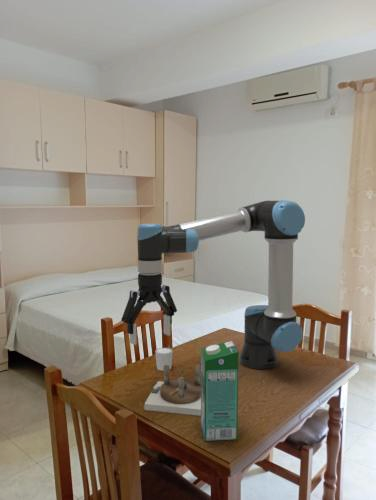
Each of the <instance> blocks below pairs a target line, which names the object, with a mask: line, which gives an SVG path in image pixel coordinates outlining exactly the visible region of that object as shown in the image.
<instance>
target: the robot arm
mask: <svg viewBox="0 0 376 500" xmlns="http://www.w3.org/2000/svg"><path fill="white" fill-rule="evenodd" d="M305 223H306V216H305V213H304V210H303V209H302V207H301V206H300V205H299V204H298V203H296V202H295V201H292V200H287V199H286V200H284V199H283V200H263V201H260V202H256V203H253V204H250V205H249V204H248V205H246V206H242V207H239V208H238V209H237V210H236V211H232V212H228V213H224V214H223V213H222V214H218V215H213V216H210V217H206V218H205V217H204V218H200V219H196V220H190V221H187V222H183V223H177V224H174V225H169V226H165V225H164V226H162V224H160V223H141V224H139V225H138V227H137V238H136V240H137V272H138V274H137V284H138V290H130V291H129V297H128V300H127V303H126V306H125V308H124V311H123V313H122V317H121V320H120V321H121V322H122V323H125V324H126V326H127V329H126V330H127V334H129V343H130V344H131V345H134V346H135V345H136V346H137V323H135V322H136V320H137V319H138V316H139V315H140V314H141V312H142V309H143V308H144V307H145V306H146V305H147V304H150V303H157V304H158V306H159V307H160V308H161V309H162V310H163V312H164V313H165V314H163V334H164V335H166V336H171V325H172V324H173V319H172V318H173V316H175V313H177V311H178V309H177V306H176V304H175V302H174V300H173V296H172V295H171V290H170V286H169V285H165V284H163V274H162V272H163V257H162V256H163V255H166V254H181V253H182V254H188V253H194V252H196V251H197V250H198V248H199V243H200V241H204V240H205V241H206V240H208V239H213V238H217V237H221V236H225V235H228V234H229V235H230V234H233V233H238V232H243V233H248V232H249V233H250V232H264V240H265V241H266V242H267V243H268V282H267V284H268V285H267V286H268V290H267V291H268V292H267V293H268V295H267V296H268V297H267V302H268V305H267V304H258V305H250V306H247V307H246V308H245V310H244V339H243V340H244V342H243V345H242V347H241V351H240V352H239V363H240V364H241V365H242V366H243V367H247V368H250V369H253V370H255V369H256V370H269V369H272V368H276V367H277V365H278V362H279V361H278V359H279V358H278V354H277V351H279V352H282V353H289V352H291V351H293V350H295V349H296V348H297V347H298V346H299V345H300V343H301V341H302V339H303V335H304V331H303V328H302V326H300V324H299V323H298V322H297V312H296V311H295V310H294V309H293V293H294V292H293V291H294V290H293V284H294V283H293V281H294V279H293V278H294V275H293V274H294V243H296V242H297V240H298V238H299V233H300V232H302V229H303V228H304V227H305ZM162 284H163V285H162ZM161 294H162V295H163V297H162V296H161ZM164 299H165V301H164ZM276 350H277V351H276Z"/></svg>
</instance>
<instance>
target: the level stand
mask: <svg viewBox="0 0 376 500" xmlns="http://www.w3.org/2000/svg"><path fill="white" fill-rule="evenodd" d="M162 384H164V381H158V380H157V383H155V385H154V386H153V389H152V390H151V391H150V394H149V395H148V397H147V398H146V401H145V402H144V404H143V408H144V410H145V411H152V412H161V413H171V414H180V415H187V416H189V415H191V416H197V417H198V416H199V417H201V397H200V398H199V399H198V400H196V401H193V402H190V403H172V402H168V401H166V400H164V399H163V398H162V397H161V395H160V387H161V385H162Z"/></svg>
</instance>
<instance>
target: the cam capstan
mask: <svg viewBox="0 0 376 500" xmlns="http://www.w3.org/2000/svg"><path fill="white" fill-rule="evenodd" d="M163 382H164V384H162V385H161V387H160V395H161V397H162V398H163V399H164V400H166V401H168V402H172V403H190V402H193V401H196V400H198V399H199V398H200V397H201V365H199V364H197V365H195V366H194V380H192V379H189V378H187V379H186V378H185V377H183V376H179V377H178V378H175V379H170V370H169V365H164V371H163Z"/></svg>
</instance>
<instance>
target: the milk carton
mask: <svg viewBox="0 0 376 500" xmlns="http://www.w3.org/2000/svg"><path fill="white" fill-rule="evenodd" d="M239 363H240V352H239V350H238V347H236V344H235V343H234V341H233V340H228V341H224V342H222V343H217V344H211V345H209V346H206V347H204V348H201V349H200V385H201V416H200V424H201V425H200V426H201V429H202V434H203V439H204V441H205V442H209V441H210V442H211V441H214V442H215V441H227V440H228V441H229V440H230V441H232V440H233V441H234V440H238V431H239V430H238V428H239V427H238V425H239V424H238V423H239V422H238V421H239V419H238V418H239V416H238V415H239V413H238V411H239Z"/></svg>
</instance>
